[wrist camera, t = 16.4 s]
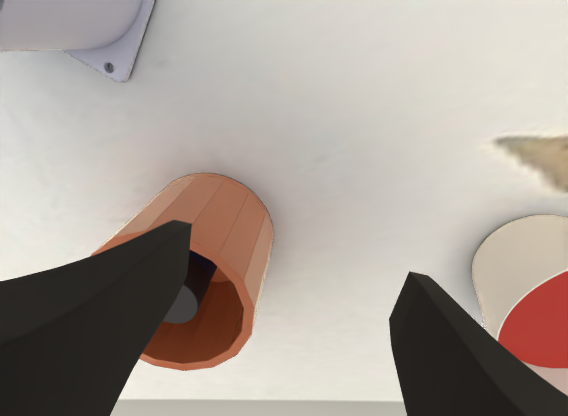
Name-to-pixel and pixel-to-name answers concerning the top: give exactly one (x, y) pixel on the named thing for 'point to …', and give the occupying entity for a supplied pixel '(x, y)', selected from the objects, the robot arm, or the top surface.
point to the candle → (528, 292)
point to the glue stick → (192, 289)
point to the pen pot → (223, 252)
